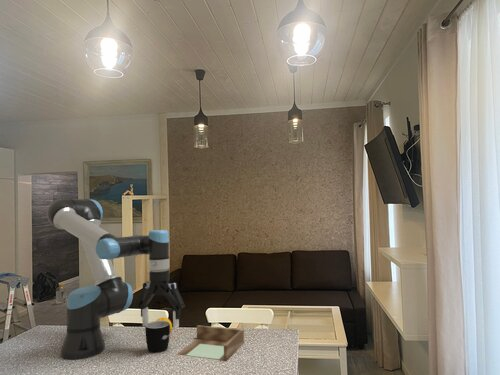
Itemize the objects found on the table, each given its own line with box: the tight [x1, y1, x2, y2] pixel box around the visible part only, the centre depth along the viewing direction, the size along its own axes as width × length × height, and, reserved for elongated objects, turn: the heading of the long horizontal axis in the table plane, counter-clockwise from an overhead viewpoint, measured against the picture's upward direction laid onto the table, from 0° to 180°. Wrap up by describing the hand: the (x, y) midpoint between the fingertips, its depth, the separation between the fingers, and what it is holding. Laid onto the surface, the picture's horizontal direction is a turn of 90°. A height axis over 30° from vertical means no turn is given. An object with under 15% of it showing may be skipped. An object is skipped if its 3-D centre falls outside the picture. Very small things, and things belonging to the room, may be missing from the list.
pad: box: [186, 344, 224, 361], centre depth 127 cm, size 13×11×1 cm
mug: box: [144, 320, 171, 354], centre depth 132 cm, size 12×9×10 cm
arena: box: [176, 325, 245, 362], centre depth 130 cm, size 20×17×6 cm
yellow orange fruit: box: [155, 317, 173, 334], centre depth 148 cm, size 8×8×8 cm
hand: (160, 326), depth 132 cm, fingers open, 13 cm apart
